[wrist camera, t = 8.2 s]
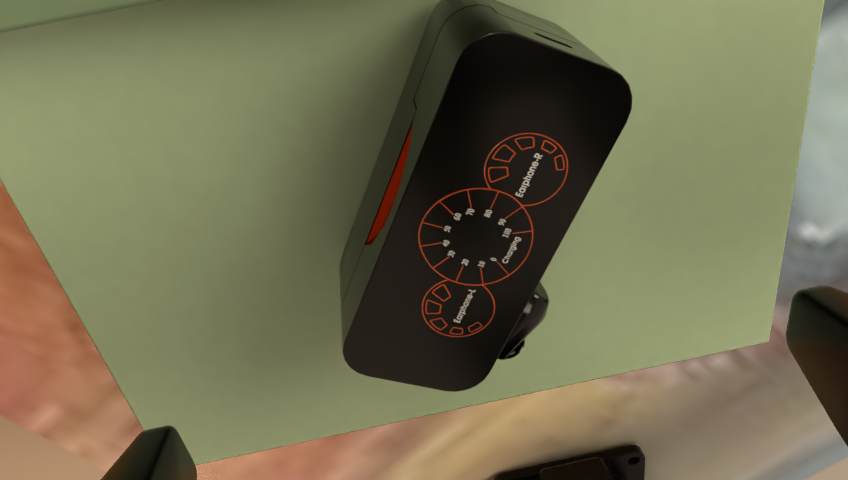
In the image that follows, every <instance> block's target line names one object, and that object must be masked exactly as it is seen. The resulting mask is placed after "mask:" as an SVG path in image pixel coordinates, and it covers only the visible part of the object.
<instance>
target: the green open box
mask: <svg viewBox="0 0 848 480" xmlns="http://www.w3.org/2000/svg"><path fill="white" fill-rule="evenodd" d="M439 1H441V0H0V180H1V182H2V184H3V185H4V187H5V189H6V191H7V192H8V194H9V196H10V198H11V199H12V201H13V203H14V205H15V206H16V208H17V210H18V212H19V213H20V215H21V217H22V219H23V220H24V222H25V224H26V226H27V227H28V229H29V231H30V233H31V234H32V236H33V238H34V240H35V241H36V243H37V245H38V247H39V248H40V250H41V252H42V254H43V255H44V257H45V259H46V261H47V262H48V264H49V266H50V268H51V269H52V271H53V273H54V275H55V276H56V278H57V280H58V282H59V283H60V285H61V287H62V289H63V290H64V292H65V294H66V295H67V297H68V299H69V301H70V302H71V304H72V306H73V308H74V309H75V311H76V313H77V315H78V316H79V318H80V320H81V322H82V323H83V325H84V327H85V329H86V330H87V332H88V334H89V336H90V337H91V339H92V341H93V343H94V344H95V346H96V348H97V350H98V351H99V353H100V355H101V357H102V358H103V360H104V362H105V364H106V365H107V367H108V369H109V371H110V372H111V374H112V376H113V378H114V379H115V381H116V383H117V385H118V386H119V388H120V390H121V392H122V393H123V395H124V397H125V399H126V400H127V402H128V404H129V406H130V407H131V409H132V411H133V412H134V414H135V416H136V418H137V419H138V421H139V423H140V425H141V426H142V428H143V430H144V431H145V430H148V429H153V428H157V427H162V426H167V425H169V426H173V427H174V428H175V429H176V430H177V431H178V433H179V435H180V437H181V438H182V440H183V442H184V444H185V446H186V448H187V450H188V452H189V453H190V455H191V457H192V459H193V461H194V464H195V465H199V464H204V463H208V462H213V461H218V460H222V459H227V458H232V457H236V456H241V455H246V454H250V453H255V452H260V451H264V450H269V449H273V448H278V447H283V446H287V445H292V444H297V443H301V442H306V441H311V440H315V439H320V438H325V437H329V436H334V435H339V434H343V433H348V432H353V431H357V430H362V429H366V428H371V427H376V426H380V425H385V424H390V423H394V422H399V421H404V420H408V419H413V418H418V417H422V416H427V415H432V414H436V413H441V412H446V411H450V410H455V409H459V408H464V407H469V406H473V405H478V404H483V403H487V402H492V401H497V400H501V399H506V398H511V397H515V396H520V395H525V394H529V393H534V392H539V391H543V390H548V389H552V388H557V387H562V386H566V385H571V384H576V383H580V382H585V381H590V380H594V379H599V378H604V377H608V376H613V375H618V374H622V373H627V372H632V371H636V370H641V369H645V368H650V367H655V366H659V365H664V364H669V363H673V362H678V361H683V360H687V359H692V358H697V357H701V356H706V355H711V354H715V353H720V352H725V351H729V350H734V349H739V348H743V347H748V346H752V345H757V344H762V343H766V342H768V341H769V338H770V332H771V326H772V319H773V313H774V307H775V301H776V295H777V289H778V283H779V276H780V270H781V264H782V258H783V252H784V246H785V240H786V234H787V227H788V221H789V215H790V209H791V203H792V197H793V191H794V184H795V178H796V172H797V166H798V160H799V154H800V148H801V141H802V135H803V129H804V123H805V117H806V111H807V105H808V98H809V92H810V86H811V80H812V74H813V68H814V62H815V55H816V49H817V43H818V37H819V31H820V25H821V19H822V12H823V6H824V0H496V1H499V2H501V3H504V4H506V5H509V6H511V7H514V8H517V9H519V10H522V11H524V12H527V13H530V14H532V15H535V16H537V17H540V18H542V19H545V20H548V21H550V22H553V23H555V24H557V25H559V26H561V27H562V28H564V29H565V30H567V31H568V32H569V33H570V34H572V35H573V36H574V37H575V38H577V39H578V40H579V41H580V42H582V43H583V44H584V45H585V46H587V47H588V48H589V49H590V50H592V51H593V52H594V53H595V54H597V55H598V56H599V57H600V58H602V59H603V60H604V61H605V62H607V63H608V64H609V65H610V66H612V67H613V68H614V69H615V70H617V71H618V72H619V73H620V74H622V76H623V77H624V78H625V80H626V81H627V82H628V84H629V86H630V89H631V93H632V110H631V113H630V115H629V118H628V120H627V123H626V125H625V126H624V128H623V130H622V132H621V134H620V136H619V137H618V139H617V141H616V143H615V145H614V147H613V148H612V150H611V152H610V154H609V156H608V158H607V159H606V161H605V163H604V165H603V167H602V169H601V170H600V172H599V174H598V176H597V178H596V179H595V181H594V183H593V185H592V187H591V189H590V190H589V192H588V194H587V196H586V198H585V200H584V201H583V203H582V205H581V207H580V209H579V211H578V212H577V214H576V216H575V218H574V220H573V222H572V223H571V225H570V227H569V229H568V231H567V233H566V234H565V236H564V238H563V240H562V242H561V243H560V245H559V247H558V249H557V251H556V253H555V254H554V256H553V258H552V260H551V262H550V264H549V265H548V267H547V269H546V271H545V273H544V275H543V276H542V278H541V280H540V282H541V284H542V286H543V287H544V289H545V290H546V292H547V295H548V298H549V305H548V309H547V314H546V316H545V318H544V320H543V321H542V322H541V323H540V324H539V325H538V326H537V327H536V328H535V329H534V330H533V331H532V332H531V333H530V334H529V335H528V336H527V337H526V338H525V345H524V348H523V349H522V351H521V352H520V353H519V354H518V355H517V356H515V357H513V358H510V359H505V360H500V359H497V360H496V362H495V364H494V366H493V368H492V370H491V371H490V373H489V374H488V376H487V377H486V378H485V380H483V381H482V382H481V383H479V384H478V385H477V386H475V387H472V388H470V389H468V390H464V391H458V392H451V391H442V390H437V389H432V388H426V387H421V386H416V385H411V384H405V383H400V382H395V381H390V380H384V379H379V378H374V377H369V376H365V375H362V374H359V373H357V372H356V371H354V370H353V369H351V368H350V367H349V366H348V364H347V363H346V361H345V360H344V356H343V352H342V327H341V300H340V273H339V266H340V261H341V256H342V253H343V250H344V248H345V245H346V242H347V239H348V237H349V234H350V231H351V229H352V226H353V223H354V220H355V218H356V215H357V212H358V210H359V207H360V204H361V201H362V199H363V196H364V193H365V191H366V188H367V185H368V182H369V180H370V177H371V174H372V172H373V169H374V166H375V163H376V161H377V158H378V155H379V152H380V150H381V147H382V144H383V142H384V139H385V136H386V133H387V131H388V128H389V125H390V123H391V120H392V117H393V114H394V112H395V109H396V106H397V104H398V101H399V98H400V95H401V93H402V90H403V87H404V85H405V82H406V79H407V76H408V74H409V71H410V68H411V66H412V63H413V60H414V57H415V55H416V52H417V49H418V46H419V44H420V41H421V38H422V36H423V33H424V30H425V27H426V25H427V22H428V19H429V17H430V14H431V13H432V11H433V9H434V7H435V6H436V4H437V3H438V2H439Z"/></svg>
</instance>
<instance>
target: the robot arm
mask: <svg viewBox="0 0 848 480" xmlns="http://www.w3.org/2000/svg"><path fill="white" fill-rule="evenodd" d="M786 340H787V344H788V347H789V349H790V351H791V353H792V355H793V356H794V358H795V360H796V361H797V363H798V365H799V366H800V368H801V370H802V372H803V373H804V375H805V377H806V378H807V380H808V382H809V383H810V385H811V387H812V388H813V390H814V392H815V394H816V395H817V397H818V399H819V400H820V402H821V404H822V405H823V407H824V409H825V411H826V412H827V414H828V416H829V417H830V419H831V421H832V422H833V424H834V426H835V427H836V429H837V431H838V432H839V434H840V435H841V437H842V438H843V440H844V441H845V443H846V444H847V446H848V293H845V292H843V291H840V290H838V289H835V288H832V287H829V286H817V287H812V288H808V289H803V290H799V291H798V292H796V293H795V295H794V296H793V299H792V304H791V309H790V314H789V320H788V325H787V331H786ZM644 471H645V457H644V454H643V452H642V450H641V448H640V447H638V446H636V445H630V446H625V447H621V448H616V449H612V450H607V451H603V452H598V453H593V454H589V455H584V456H580V457H575V458H570V459H566V460H561V461H557V462H552V463H547V464H543V465H538V466H534V467H529V468H525V469H520V470H515V471H511V472H506V473H503V474H500V475H498V476H497V477H496V478H495V479H494V480H644ZM101 480H197V473H196V467H195V464H194V461H193V459H192V457H191V455H190V453H189V452H188V450H187V448H186V446H185V444H184V442H183V440H182V438H181V437H180V435H179V433H178V431H177V430H176V429H175V428H174V427H173V426H169V425H167V426H162V427H157V428H153V429H148V430H145V431H143V432H141V433H140V434H139V435H138V436H137V437H136V439H135V440H134V441H133V442H132V443H131V444H130V446H129V447H128V448H127V449H126V450H125V452H124V453H123V454H122V455H121V456H120V458H119V459H118V460H117V461H116V462H115V463H114V465H113V466H112V467H111V468H110V469H109V471H108V472H107V473H106V474H105V475H104V477H103V478H102V479H101Z"/></svg>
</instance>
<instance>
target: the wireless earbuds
mask: <svg viewBox="0 0 848 480" xmlns="http://www.w3.org/2000/svg"><path fill="white" fill-rule="evenodd" d="M631 110H632V93H631V89H630V86H629V84H628V82H627V81H626V80H625V78H624V77H623V76H622V74H620V73H619V72H618V71H617V70H615V69H614V68H613V67H612V66H610V65H609V64H608V63H607V62H605V61H604V60H603V59H602V58H600V57H599V56H598V55H597V54H595V53H594V52H593V51H592V50H590V49H589V48H588V47H587V46H585V45H584V44H583V43H582V42H580V41H579V40H578V39H577V38H575V37H574V36H573V35H572V34H570V33H569V32H568V31H567V30H565V29H564V28H562V27H561V26H559V25H557V24H555V23H553V22H550V21H548V20H545V19H542V18H540V17H537V16H535V15H532V14H530V13H527V12H524V11H522V10H519V9H517V8H514V7H511V6H509V5H506V4H504V3H501V2H499V1H496V0H441V1H439V2H438V3H437V4H436V6H435V7H434V9H433V11H432V13H431V14H430V17H429V19H428V22H427V25H426V27H425V30H424V33H423V36H422V38H421V41H420V44H419V46H418V49H417V52H416V55H415V57H414V60H413V63H412V66H411V68H410V71H409V74H408V76H407V79H406V82H405V85H404V87H403V90H402V93H401V95H400V98H399V101H398V104H397V106H396V109H395V112H394V114H393V117H392V120H391V123H390V125H389V128H388V131H387V133H386V136H385V139H384V142H383V144H382V147H381V150H380V152H379V155H378V158H377V161H376V163H375V166H374V169H373V172H372V174H371V177H370V180H369V182H368V185H367V188H366V191H365V193H364V196H363V199H362V201H361V204H360V207H359V210H358V212H357V215H356V218H355V220H354V223H353V226H352V229H351V231H350V234H349V237H348V239H347V242H346V245H345V248H344V250H343V253H342V256H341V261H340V266H339V273H340V300H341V327H342V352H343V356H344V360H345V361H346V363H347V364H348V366H349V367H350V368H351V369H353V370H354V371H356V372H357V373H359V374H362V375H365V376H369V377H374V378H379V379H384V380H390V381H395V382H400V383H405V384H411V385H416V386H421V387H426V388H432V389H437V390H442V391H451V392H458V391H464V390H468V389H470V388H472V387H475V386H477V385H478V384H479V383H481V382H482V381H483V380H485V378H486V377H487V376H488V374H489V373H490V371H491V370H492V368H493V366H494V364H495V362H496V360H497V359H500V360H505V359H510V358H513V357H515V356H517V355H518V354H519V353H520V352H521V351H522V349H523V348H524V345H525V338H526V337H527V336H528V335H529V334H530V333H531V332H532V331H533V330H534V329H535V328H536V327H537V326H538V325H539V324H540V323H541V322H542V321H543V320H544V318H545V316H546V314H547V309H548V305H549V298H548V295H547V292H546V290H545V289H544V287H543V286H542V284H541V282H540V280H541V278H542V276H543V275H544V273H545V271H546V269H547V267H548V265H549V264H550V262H551V260H552V258H553V256H554V254H555V253H556V251H557V249H558V247H559V245H560V243H561V242H562V240H563V238H564V236H565V234H566V233H567V231H568V229H569V227H570V225H571V223H572V222H573V220H574V218H575V216H576V214H577V212H578V211H579V209H580V207H581V205H582V203H583V201H584V200H585V198H586V196H587V194H588V192H589V190H590V189H591V187H592V185H593V183H594V181H595V179H596V178H597V176H598V174H599V172H600V170H601V169H602V167H603V165H604V163H605V161H606V159H607V158H608V156H609V154H610V152H611V150H612V148H613V147H614V145H615V143H616V141H617V139H618V137H619V136H620V134H621V132H622V130H623V128H624V126H625V125H626V123H627V120H628V118H629V115H630V113H631Z"/></svg>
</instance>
